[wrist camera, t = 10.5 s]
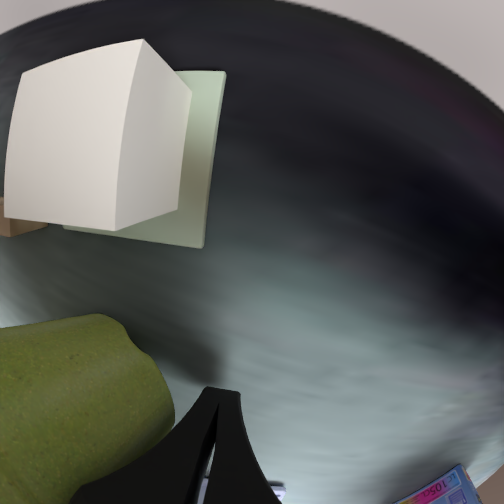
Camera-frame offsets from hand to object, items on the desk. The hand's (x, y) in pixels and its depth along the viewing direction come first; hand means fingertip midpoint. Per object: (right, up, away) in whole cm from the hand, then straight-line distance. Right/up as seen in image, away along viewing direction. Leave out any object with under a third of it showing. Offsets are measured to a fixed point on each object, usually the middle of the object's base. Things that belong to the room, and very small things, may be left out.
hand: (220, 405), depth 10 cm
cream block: (-3, +10, -1) cm, 10 cm away
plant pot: (-4, +1, 0) cm, 4 cm away
